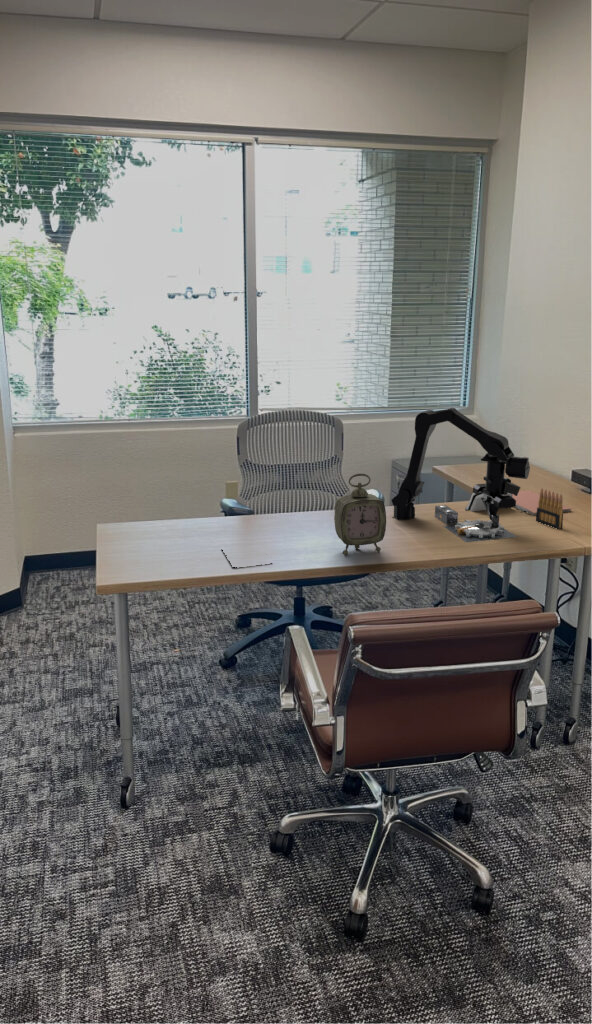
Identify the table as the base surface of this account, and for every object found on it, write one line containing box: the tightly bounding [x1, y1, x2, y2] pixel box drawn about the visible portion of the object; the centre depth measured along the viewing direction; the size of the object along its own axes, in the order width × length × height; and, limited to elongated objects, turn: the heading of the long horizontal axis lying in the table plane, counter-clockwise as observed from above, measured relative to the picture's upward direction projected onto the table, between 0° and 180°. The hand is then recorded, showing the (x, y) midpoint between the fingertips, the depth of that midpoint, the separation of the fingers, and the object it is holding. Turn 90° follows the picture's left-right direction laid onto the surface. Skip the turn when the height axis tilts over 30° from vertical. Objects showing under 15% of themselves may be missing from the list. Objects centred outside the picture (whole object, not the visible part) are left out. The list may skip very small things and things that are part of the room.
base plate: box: [442, 524, 518, 543], centre depth 249 cm, size 18×18×1 cm
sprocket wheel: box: [454, 513, 505, 538], centre depth 248 cm, size 16×16×6 cm
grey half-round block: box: [464, 492, 513, 512], centre depth 274 cm, size 17×5×10 cm, turn 107°
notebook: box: [512, 489, 573, 516], centre depth 282 cm, size 27×17×2 cm, turn 16°
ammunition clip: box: [535, 488, 564, 530], centre depth 255 cm, size 11×2×12 cm, turn 26°
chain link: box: [434, 504, 459, 526], centre depth 262 cm, size 4×10×5 cm, turn 13°
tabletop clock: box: [333, 473, 387, 556], centre depth 233 cm, size 14×9×25 cm, turn 103°
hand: (492, 520), depth 250 cm, fingers closed
